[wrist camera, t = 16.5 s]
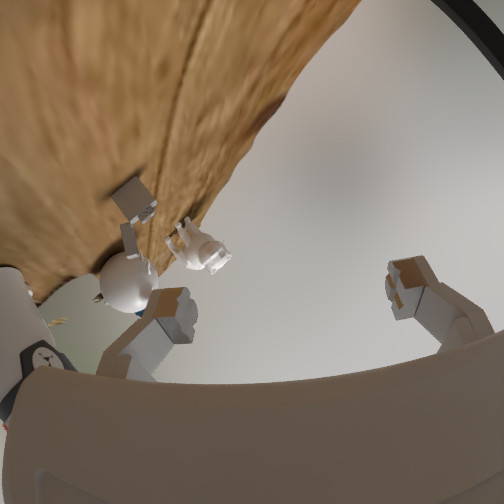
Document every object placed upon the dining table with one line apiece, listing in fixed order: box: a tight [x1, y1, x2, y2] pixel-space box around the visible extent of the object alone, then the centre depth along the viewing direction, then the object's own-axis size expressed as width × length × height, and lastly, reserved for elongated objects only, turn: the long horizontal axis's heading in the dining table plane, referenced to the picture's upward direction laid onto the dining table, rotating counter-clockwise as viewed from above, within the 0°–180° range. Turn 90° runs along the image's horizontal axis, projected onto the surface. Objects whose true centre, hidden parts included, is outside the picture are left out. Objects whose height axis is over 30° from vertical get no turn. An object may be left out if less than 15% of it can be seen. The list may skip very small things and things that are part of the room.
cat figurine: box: [165, 216, 232, 275], centre depth 78 cm, size 25×10×17 cm, turn 154°
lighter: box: [111, 176, 157, 259], centre depth 32 cm, size 7×2×8 cm, turn 75°
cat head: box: [100, 250, 158, 313], centre depth 51 cm, size 15×13×12 cm
